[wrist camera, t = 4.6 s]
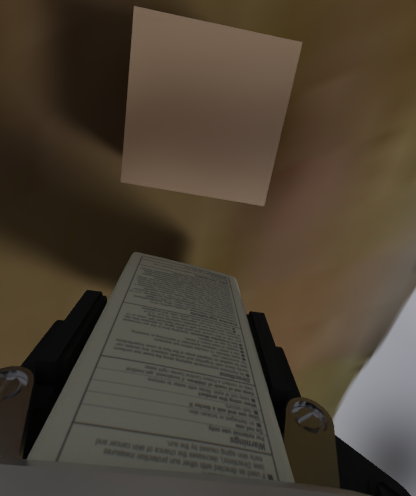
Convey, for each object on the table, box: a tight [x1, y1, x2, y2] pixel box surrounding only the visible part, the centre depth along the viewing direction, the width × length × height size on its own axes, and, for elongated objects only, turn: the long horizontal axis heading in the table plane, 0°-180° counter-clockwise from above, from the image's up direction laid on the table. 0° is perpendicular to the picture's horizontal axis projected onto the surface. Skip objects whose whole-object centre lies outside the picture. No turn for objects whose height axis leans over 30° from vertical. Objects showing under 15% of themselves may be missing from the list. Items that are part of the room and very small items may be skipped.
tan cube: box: [121, 6, 303, 206], centre depth 12 cm, size 5×5×5 cm
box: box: [27, 252, 295, 483], centre depth 9 cm, size 5×4×11 cm
